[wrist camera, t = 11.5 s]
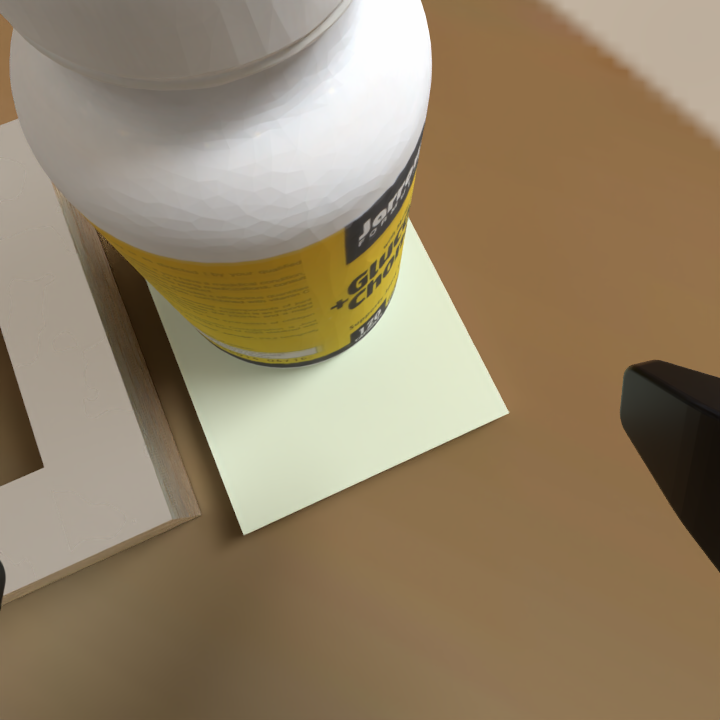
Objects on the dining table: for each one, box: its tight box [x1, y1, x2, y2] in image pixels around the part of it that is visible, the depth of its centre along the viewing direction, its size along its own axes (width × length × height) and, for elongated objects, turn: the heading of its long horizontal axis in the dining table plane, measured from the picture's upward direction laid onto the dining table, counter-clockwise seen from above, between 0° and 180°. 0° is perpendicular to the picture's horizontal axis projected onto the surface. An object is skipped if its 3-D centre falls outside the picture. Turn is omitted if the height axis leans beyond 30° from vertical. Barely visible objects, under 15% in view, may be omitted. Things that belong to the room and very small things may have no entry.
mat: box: [145, 218, 509, 535], centre depth 17 cm, size 12×8×1 cm, turn 24°
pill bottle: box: [0, 0, 432, 369], centre depth 11 cm, size 6×6×12 cm
